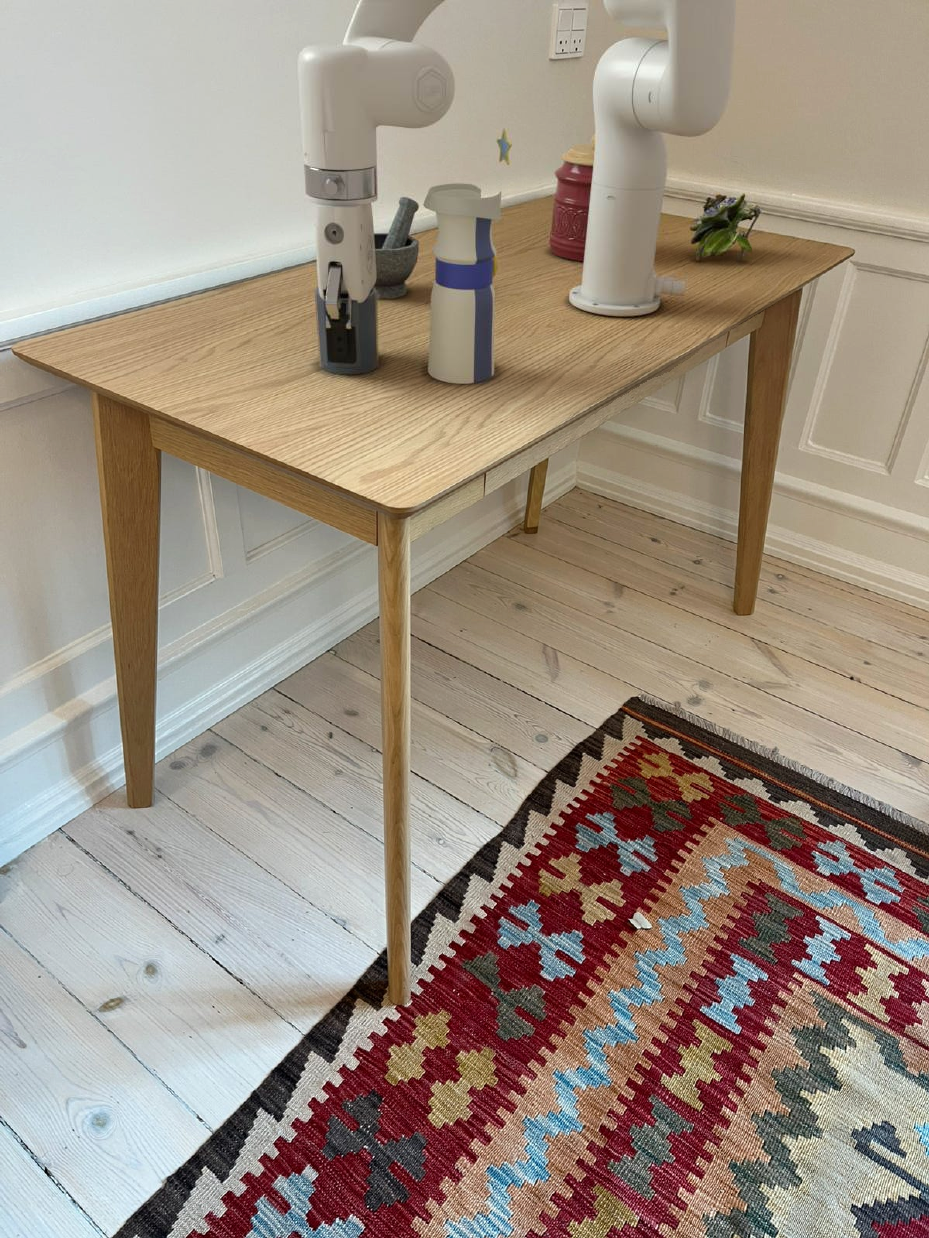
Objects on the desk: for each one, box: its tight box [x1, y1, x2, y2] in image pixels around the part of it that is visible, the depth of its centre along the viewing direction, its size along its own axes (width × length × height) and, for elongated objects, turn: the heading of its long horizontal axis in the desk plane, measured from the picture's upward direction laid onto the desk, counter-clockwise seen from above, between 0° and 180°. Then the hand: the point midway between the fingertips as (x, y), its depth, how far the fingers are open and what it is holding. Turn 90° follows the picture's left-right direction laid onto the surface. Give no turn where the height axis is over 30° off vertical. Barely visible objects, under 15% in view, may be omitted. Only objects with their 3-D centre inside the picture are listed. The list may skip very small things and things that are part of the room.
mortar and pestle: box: [374, 196, 420, 300], centre depth 128 cm, size 11×9×12 cm
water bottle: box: [422, 128, 513, 385], centre depth 100 cm, size 8×9×25 cm
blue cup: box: [314, 286, 380, 376], centre depth 106 cm, size 7×7×8 cm
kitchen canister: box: [548, 133, 595, 262], centre depth 147 cm, size 13×13×18 cm
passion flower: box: [689, 192, 762, 262], centre depth 150 cm, size 11×11×12 cm
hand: (348, 349), depth 107 cm, fingers closed on blue cup, 6 cm apart
